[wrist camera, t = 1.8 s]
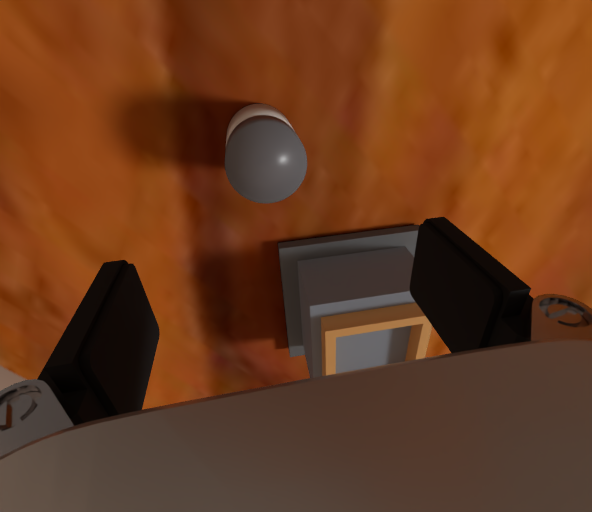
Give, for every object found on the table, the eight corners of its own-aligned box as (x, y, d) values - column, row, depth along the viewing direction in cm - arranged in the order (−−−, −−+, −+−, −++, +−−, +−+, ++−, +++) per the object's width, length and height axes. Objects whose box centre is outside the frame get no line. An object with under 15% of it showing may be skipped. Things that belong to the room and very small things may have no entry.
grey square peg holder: (277, 242, 30) (291, 307, 23) (418, 224, 31) (472, 280, 24) (288, 349, 37) (301, 422, 30) (400, 331, 39) (437, 397, 32)
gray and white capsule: (220, 106, 23) (217, 126, 18) (290, 100, 24) (305, 118, 19) (232, 174, 26) (232, 207, 21) (294, 167, 26) (308, 198, 21)
